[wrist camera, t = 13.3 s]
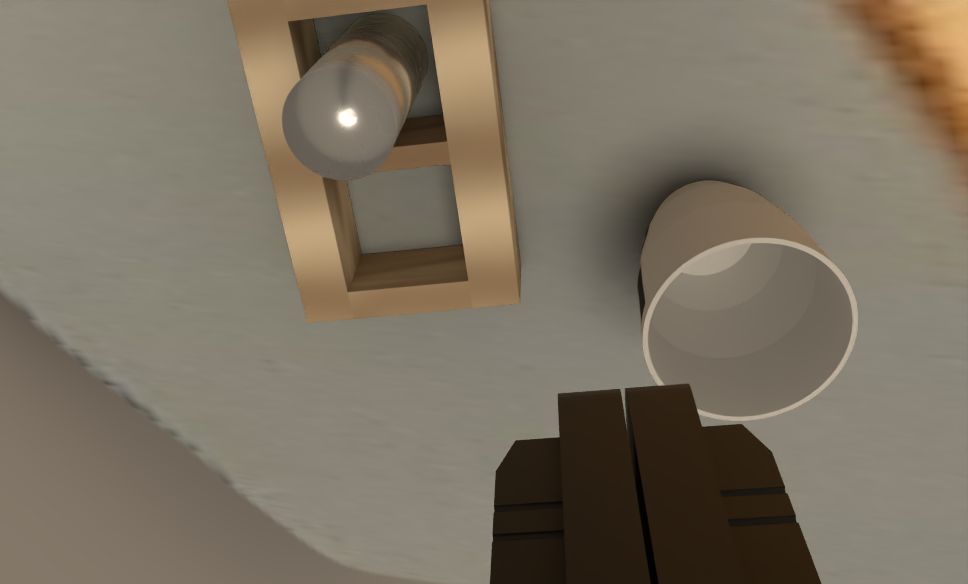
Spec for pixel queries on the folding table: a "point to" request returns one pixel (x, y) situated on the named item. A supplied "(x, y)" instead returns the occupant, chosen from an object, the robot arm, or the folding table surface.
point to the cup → (740, 303)
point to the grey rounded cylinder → (356, 98)
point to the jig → (390, 167)
